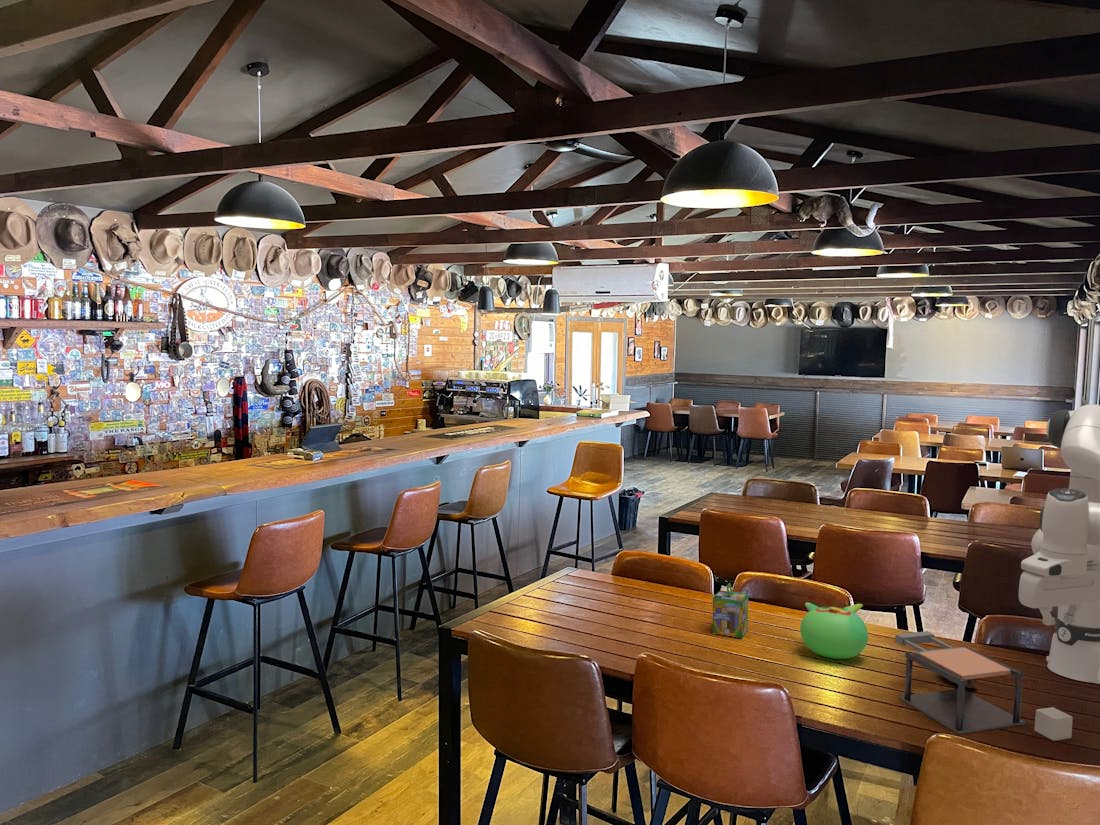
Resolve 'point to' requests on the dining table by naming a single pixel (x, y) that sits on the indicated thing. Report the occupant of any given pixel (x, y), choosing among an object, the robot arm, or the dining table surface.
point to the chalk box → (730, 613)
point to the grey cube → (1053, 723)
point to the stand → (961, 701)
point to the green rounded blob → (834, 631)
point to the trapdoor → (953, 657)
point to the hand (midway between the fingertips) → (1058, 623)
